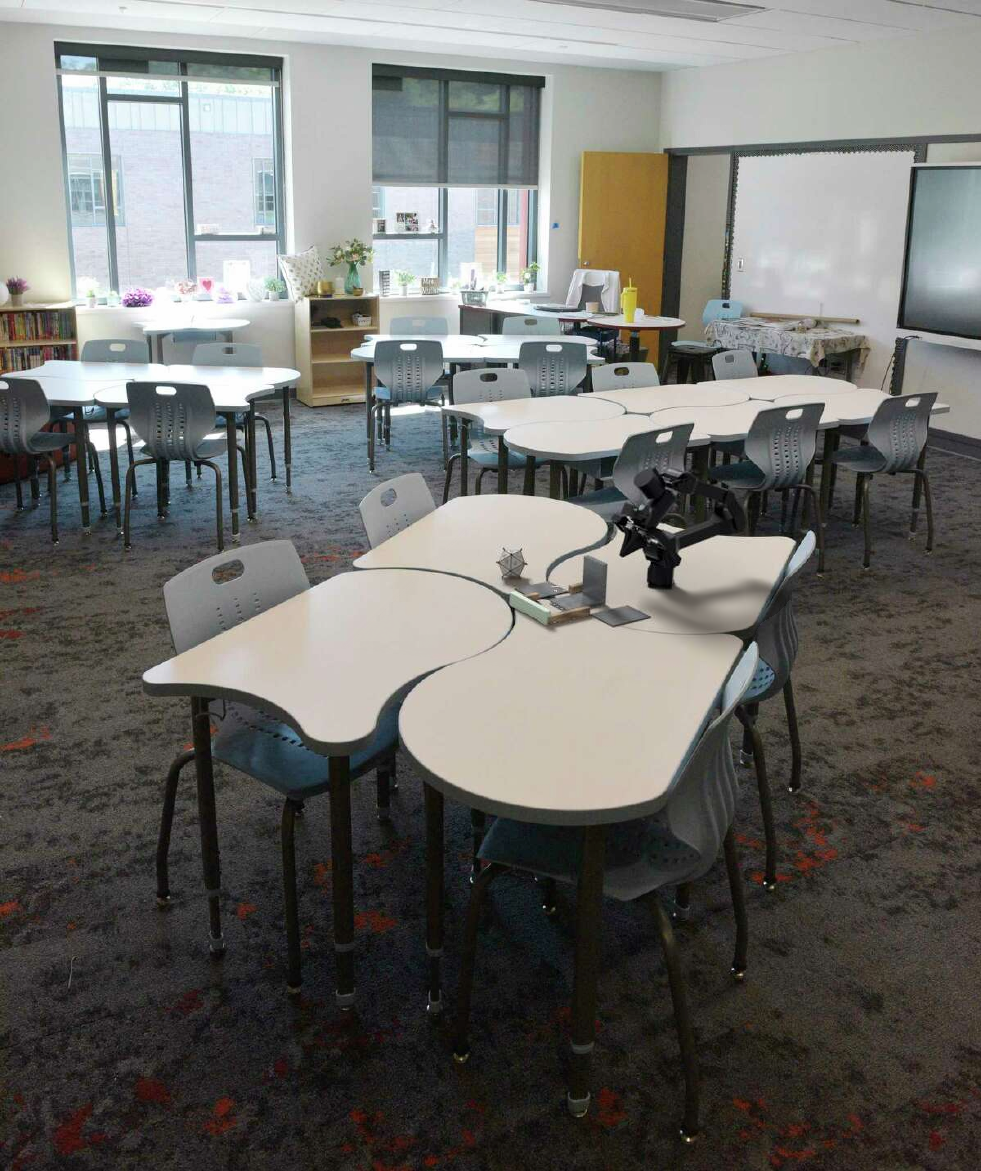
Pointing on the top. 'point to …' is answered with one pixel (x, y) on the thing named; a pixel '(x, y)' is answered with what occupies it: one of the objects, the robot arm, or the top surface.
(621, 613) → the trap lane
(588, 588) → the bookend
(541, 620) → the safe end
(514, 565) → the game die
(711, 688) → the top surface
